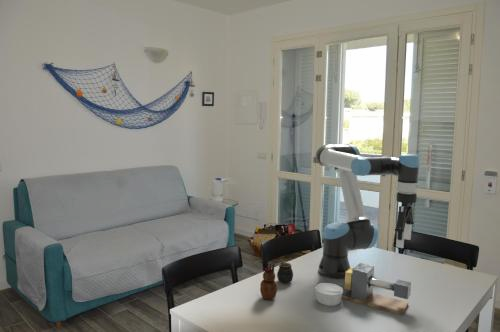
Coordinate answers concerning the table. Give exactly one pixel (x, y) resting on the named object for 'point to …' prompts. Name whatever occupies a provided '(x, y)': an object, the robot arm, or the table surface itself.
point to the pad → (347, 292)
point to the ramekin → (328, 294)
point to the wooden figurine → (268, 284)
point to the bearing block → (362, 282)
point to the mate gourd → (285, 273)
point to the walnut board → (382, 303)
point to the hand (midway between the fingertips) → (403, 243)
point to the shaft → (393, 287)
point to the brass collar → (348, 279)
